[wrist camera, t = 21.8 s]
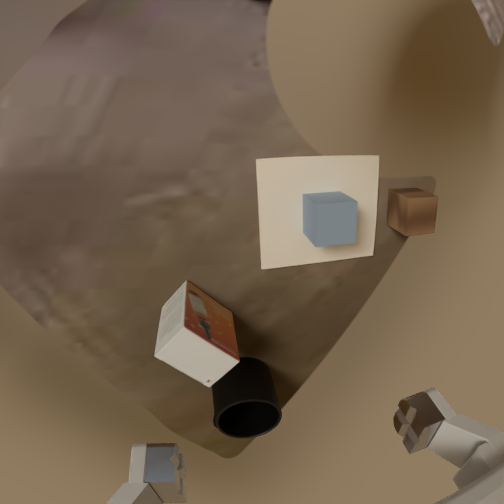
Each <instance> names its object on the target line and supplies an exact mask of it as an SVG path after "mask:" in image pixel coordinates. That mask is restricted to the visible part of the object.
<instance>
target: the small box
mask: <svg viewBox="0 0 504 504" xmlns="http://www.w3.org/2000/svg"><path fill="white" fill-rule="evenodd" d="M154 356H155V357H156V358H158V359H160V360H162V361H164V362H166V363H167V364H169V365H171V366H173V367H174V368H176V369H178V370H179V371H181V372H183V373H185V374H187V375H188V376H190V377H192V378H194V379H196V380H197V381H199V382H201V383H202V384H204V385H206V386H207V387H210V386H212V385H213V384H214V383H215V382H216V381H218V380H219V379H220V378H221V377H222V376H224V375H225V374H226V373H227V372H228V371H229V370H231V369H232V368H233V367H234V366H235V365H236V364H237V363H239V361H240V360H239V354H238V347H237V341H236V335H235V329H234V322H233V316H232V312H231V311H230V310H228V309H227V308H225V307H224V306H222V305H221V304H219V303H218V302H216V301H215V300H214V299H212V298H211V297H210V296H208V295H207V294H205V293H204V292H203V291H201V290H200V289H199V288H197V287H196V286H195V285H193V284H192V283H191V282H189V281H188V280H186V281H185V282H184V283H183V285H182V286H181V287H180V288H179V289H178V290H177V291H176V292H175V293H174V294H173V295H172V297H171V298H170V299H169V300H168V301H167V302H166V303H165V304H164V306H163V307H162V312H161V318H160V323H159V329H158V335H157V341H156V348H155V354H154Z"/></svg>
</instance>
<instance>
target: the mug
mask: <svg viewBox="0 0 504 504" xmlns="http://www.w3.org/2000/svg"><path fill="white" fill-rule="evenodd" d="M239 360H240V361H239V363H237V364H236V365H235V366H234V367H233V368H232V369H231V370H229V371H228V372H227V373H226V374H225V375H224V376H222V377H221V378H220V379H219V380H218V381H216V382H215V383H214V384H213V385H212V392H213V403H214V418H213V423H214V426H215V427H216V428H218V429H219V430H220V431H221V432H222V433H223V434H225V435H227V436H230V437H234V438H252V437H257V436H260V435H263V434H266V433H268V432H269V431H271V430H272V429H274V428H275V427H276V426H277V425H278V424H279V422H280V420H281V417H282V412H281V408H280V405H279V401H278V398H277V395H276V391H275V388H274V384H273V381H272V378H271V374H270V371H269V369H268V367H267V366H266V365H265V364H263V363H262V362H261V361H259V360H256V359H253V358H239Z"/></svg>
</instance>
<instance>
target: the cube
mask: <svg viewBox="0 0 504 504" xmlns="http://www.w3.org/2000/svg"><path fill="white" fill-rule="evenodd" d="M302 196H303V233H304V234H305V236H306V237H307V238H308V239H309V240H310V241H311V243H312V244H313V245H314V246H315V247H324V246H332V245H341V244H349V243H356V227H357V206H358V201H356V200H355V199H353V198H351V197H349V196H348V195H346V194H344V193H342V192H341V191H337V192H322V193H307V194H302Z"/></svg>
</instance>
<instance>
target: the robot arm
mask: <svg viewBox="0 0 504 504" xmlns="http://www.w3.org/2000/svg"><path fill="white" fill-rule="evenodd" d="M398 406H399V409H398V411H396V413H395V415H394V418H393V420H394V427H395V429H396V431H397V433H398V434H399V435H401V436H403V444H404V445H405V447H406V449H407V451H408V452H409V454H411V453H414V452H416V451H419V450H421V449H424V448H426V447H428V449H429V450H431V451H433V452H434V453H436V454H437V455H439V456H441V457H442V458H444V459H446V460H447V461H449V462H451V463H452V464H454V465H456V466H457V467H459V468H461V469H460V470H459V471H458V472H457V474H456V475H455V476H454V478H453V480H454V482H455V484H456V485H457V487H458V489H459V490H458V491H456V492H455V493H453V494H451V495H449V496H447V497H446V498H444V499H442V500H440V501H438V502H436V503H434V504H504V433H503V432H502V431H500V430H498V429H495V428H493V427H490V426H488V425H486V424H483V423H481V422H478V421H476V420H473V419H471V418H469V417H466V416H464V415H462V414H459V413H458V414H455V412H454V411H453V410H452V408H451V407H450V406H449V404H448V403H447V402H446V400H445V399H444V398H443V397H442V395H441V394H440V393H439V391H438V390H437V389H435V388H431V389H428V390H426V391H423V392H420V393H417V394H415V395H412V396H409V397H407V398H404V399H402V400H401V401H400V402H399V404H398ZM185 477H186V470H185V463H184V460H183V456H182V454H181V453H179V447H178V445H177V443H157V444H156V443H154V444H149V443H141V444H140V443H137V444H136V443H135V444H133V447H132V452H131V462H130V473H129V482H125V483H124V484H123V485H122V486H121V487H120V488H119V490H118V491H117V492H116V493H115V494H114V495H113V496H112V498H111V499H110V500H109V501H108V502H107V503H106V504H163V503H184V502H187V489H186V486H185V484H184V482H183V480H184V479H185Z"/></svg>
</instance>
